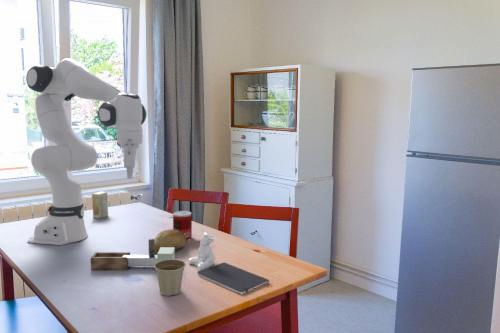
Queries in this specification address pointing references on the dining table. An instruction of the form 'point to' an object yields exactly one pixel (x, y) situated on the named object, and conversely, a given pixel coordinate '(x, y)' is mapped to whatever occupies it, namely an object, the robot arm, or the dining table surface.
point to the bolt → (143, 257)
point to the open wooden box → (109, 261)
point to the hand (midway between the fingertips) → (130, 175)
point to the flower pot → (170, 276)
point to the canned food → (183, 223)
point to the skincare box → (100, 204)
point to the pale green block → (166, 253)
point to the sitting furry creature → (204, 253)
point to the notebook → (232, 277)
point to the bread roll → (170, 239)
